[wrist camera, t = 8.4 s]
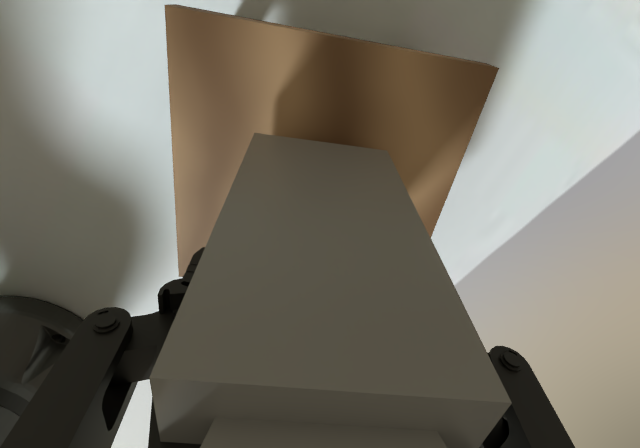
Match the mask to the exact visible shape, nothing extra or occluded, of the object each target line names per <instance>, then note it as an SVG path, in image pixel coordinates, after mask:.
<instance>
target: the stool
mask: <svg viewBox="0 0 640 448" xmlns="http://www.w3.org/2000/svg"><path fill="white" fill-rule="evenodd" d="M165 19H166V38H167V57H168V76H169V95H170V114H171V133H172V153H173V172H174V191H175V210H176V229H177V248H178V268H179V276H180V277H183V276H184V274H185V273H186V270H187V267H188V265H189V263H190V261H191V259H192V257H193V254H195V253H196V252H197V251H198V250H200V249H201V248H202V247H206V244H207V242H208V240H209V237H210V235H211V233H212V230H213V228H214V226H215V223H216V221H217V219H218V216H219V214H220V212H221V209H222V207H223V205H224V202H225V200H226V198H227V195H228V193H229V191H230V188H231V186H232V184H233V181H234V179H235V177H236V174H237V172H238V170H239V167H240V165H241V163H242V160H243V158H244V156H245V154H246V151H247V149H248V147H249V144H250V142H251V140H252V137H253V135H254V133H261V134H268V135H275V136H283V137H290V138H298V139H305V140H312V141H320V142H327V143H335V144H342V145H349V146H357V147H364V148H372V149H379V150H386V151H388V153H389V155H390V157H391V159H392V161H393V163H394V165H395V167H396V169H397V171H398V173H399V175H400V177H401V179H402V181H403V183H404V186H405V188H406V190H407V192H408V194H409V196H410V198H411V200H412V202H413V204H414V206H415V208H416V210H417V212H418V214H419V216H420V218H421V220H422V222H423V224H424V226H425V228H426V230H427V232H428V234H429V236H430V238H431V236H432V233H433V231H434V228H435V226H436V223H437V221H438V218H439V216H440V213H441V211H442V208H443V206H444V203H445V201H446V198H447V196H448V193H449V191H450V188H451V186H452V183H453V181H454V178H455V176H456V174H457V171H458V169H459V166H460V164H461V161H462V159H463V156H464V154H465V151H466V149H467V146H468V144H469V141H470V139H471V136H472V134H473V131H474V129H475V126H476V124H477V121H478V119H479V116H480V114H481V111H482V109H483V107H484V104H485V102H486V99H487V97H488V94H489V92H490V89H491V87H492V84H493V82H494V79H495V77H496V74H497V72H498V69H499V68H497V67H494V66H492V65H489V64H486V63H481V62H476V61H471V60H465V59H460V58H455V57H450V56H444V55H439V54H434V53H429V52H423V51H418V50H413V49H407V48H402V47H397V46H392V45H386V44H381V43H376V42H371V41H365V40H360V39H355V38H350V37H344V36H339V35H334V34H328V33H323V32H318V31H313V30H307V29H302V28H297V27H292V26H286V25H281V24H276V23H271V22H265V21H260V20H255V19H250V18H244V17H239V16H234V15H228V14H223V13H218V12H213V11H207V10H202V9H197V8H192V7H186V6H181V5H176V4H175V5H165Z"/></svg>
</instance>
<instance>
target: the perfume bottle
mask: <svg viewBox="0 0 640 448" xmlns="http://www.w3.org/2000/svg"><path fill="white" fill-rule="evenodd" d="M149 379H150V384H151V390H152V396H153V402H154V408H155V413H156V419H157V425H158V431H159V436H160V442H176V443H191V444H202V445H201V447H200V448H479V447H480V445H481V444H482V443H483V441H484V440H485V439H486V437H487V436H488V435H489V433H490V432H491V431H492V429H493V428H494V426H495V425H496V424H497V422H498V421H499V420H500V418H501V417H502V416H503V414H504V413H505V412H506V410H507V409H508V408H509V406H510V405H511V404H512V402H511V400H510V398H509V396H508V394H507V392H506V390H505V388H504V386H503V384H502V382H501V380H500V378H499V376H498V374H497V372H496V370H495V368H494V366H493V364H492V362H491V360H490V358H489V356H488V354H487V352H486V350H485V348H484V346H483V344H482V342H481V340H480V338H479V336H478V333H477V331H476V330H475V327H474V326H473V323H472V321H471V319H470V317H469V315H468V313H467V311H466V309H465V307H464V305H463V303H462V301H461V299H460V297H459V295H458V293H457V291H456V289H455V287H454V285H453V283H452V281H451V279H450V277H449V275H448V273H447V271H446V269H445V267H444V265H443V263H442V260H441V258H440V256H439V254H438V252H437V250H436V248H435V246H434V244H433V242H432V240H431V238H430V236H429V234H428V232H427V230H426V228H425V226H424V224H423V222H422V220H421V218H420V216H419V214H418V212H417V210H416V208H415V206H414V204H413V202H412V200H411V198H410V196H409V194H408V192H407V190H406V188H405V186H404V183H403V181H402V179H401V177H400V175H399V173H398V171H397V169H396V167H395V165H394V163H393V161H392V159H391V157H390V155H389V153H388V151H386V150H379V149H372V148H364V147H357V146H349V145H342V144H335V143H327V142H320V141H312V140H305V139H298V138H290V137H283V136H275V135H268V134H261V133H254V135H253V137H252V140H251V142H250V144H249V147H248V149H247V151H246V154H245V156H244V158H243V160H242V163H241V165H240V167H239V170H238V172H237V174H236V177H235V179H234V181H233V184H232V186H231V188H230V191H229V193H228V195H227V198H226V200H225V202H224V205H223V207H222V209H221V212H220V214H219V216H218V219H217V221H216V223H215V226H214V228H213V230H212V233H211V235H210V237H209V240H208V242H207V244H206V247H205V249H204V251H203V254H202V256H201V258H200V261H199V263H198V265H197V268H196V270H195V272H194V275H193V277H192V279H191V282H190V284H189V286H188V289H187V291H186V293H185V296H184V298H183V300H182V303H181V305H180V307H179V310H178V312H177V314H176V317H175V319H174V321H173V324H172V326H171V328H170V331H169V333H168V335H167V338H166V340H165V342H164V345H163V347H162V349H161V352H160V354H159V356H158V358H157V361H156V363H155V365H154V368H153V370H152V372H151V375H150V377H149Z"/></svg>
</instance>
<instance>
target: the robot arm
mask: <svg viewBox="0 0 640 448" xmlns="http://www.w3.org/2000/svg"><path fill="white" fill-rule="evenodd" d="M204 249H205V247H202V248H201V249H200V250H198V251H197V252H196V253H195V254H193V257H192V259H191V261H190V263H189V265H188V267H187V270H186V273H185V274H184V276H183V278H182V279H177V280H173V281H171V282H168V283H166V284H165V285H164V286H163V287H162V288H161V289H160V290H159V293H158V303H159V311H158V312H155V313H152V314H148V315H142V316H135V317H131V316H130V314H129V313H128V312H127V311H126V310H124V309H121V308H117V307H111V308H104V309H101V310H97V311H95V312H94V313H92V314H90V315H88V316H87V317H86V318H85V320H84V321H83V320H81V319H80V318H79V317H77V316H75V315H74V314H72V313H70V312H68V311H66V310H64V309H62V308H60V307H58V306H55V305H53V304H50V303H47V302H43V301H40V300H36V299H31V298H25V297H13V296H6V297H0V448H111V446H112V443H113V441H114V438H115V436H116V433H117V431H118V429H119V426H120V424H121V421H122V419H123V416H124V414H125V412H126V409H127V407H128V404H129V402H130V399H131V397H132V395H133V392H134V390H135V387H136V385H137V382H138V381H142V380H147V379H149V377H150V375H151V372H152V370H153V368H154V365H155V363H156V361H157V358H158V356H159V354H160V352H161V349H162V347H163V345H164V342H165V340H166V338H167V335H168V333H169V331H170V328H171V326H172V324H173V321H174V319H175V317H176V314H177V312H178V310H179V307H180V305H181V303H182V300H183V298H184V296H185V293H186V291H187V289H188V286H189V284H190V282H191V279H192V277H193V275H194V272H195V270H196V268H197V265H198V263H199V261H200V258H201V256H202V254H203V251H204ZM487 354H488V356H489V358H490V360H491V362H492V364H493V366H494V368H495V370H496V372H497V374H498V376H499V378H500V380H501V382H502V384H503V386H504V388H505V390H506V392H507V394H508V396H509V398H510V400H511V402H512V404H511V405H510V406H509V408H508V409H507V410H506V412H505V413H504V414H503V416H502V417H501V418H500V420H499V421H498V422H497V424H496V425H495V426H494V428H493V429H492V431H491V432H490V433H489V435H488V436H487V437H486V439H485V440H484V441H483V443H482V444H481V445H480V447H479V448H575V446H574V445H573V443H572V441H571V439H570V437H569V436H568V434H567V432H566V431H565V428H564V427H563V425H562V423H561V421H560V419H559V418H558V416H557V414H556V412H555V410H554V408H553V407H552V405H551V403H550V401H549V399H548V398H547V396H546V394H545V392H544V391H543V389H542V387H541V385H540V383H539V381H538V380H537V378H536V376H535V374H534V373H533V371H532V369H531V367H530V365H529V364H528V362H527V361H526V360H525V359H524V357H522V356H521V355H520V354H519V353H518V352H516V351H514V350H512V349H510V348H508V347H504V346H495V347H494V348H492V349H491V350H490V352H489V353H487ZM201 445H202V444H191V443H176V442H160V436H159V431H158V425H157V419H156V413H155V408H154V402H153V397H152V409H151V420H150V432H149V444H148V448H200V447H201Z"/></svg>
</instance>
